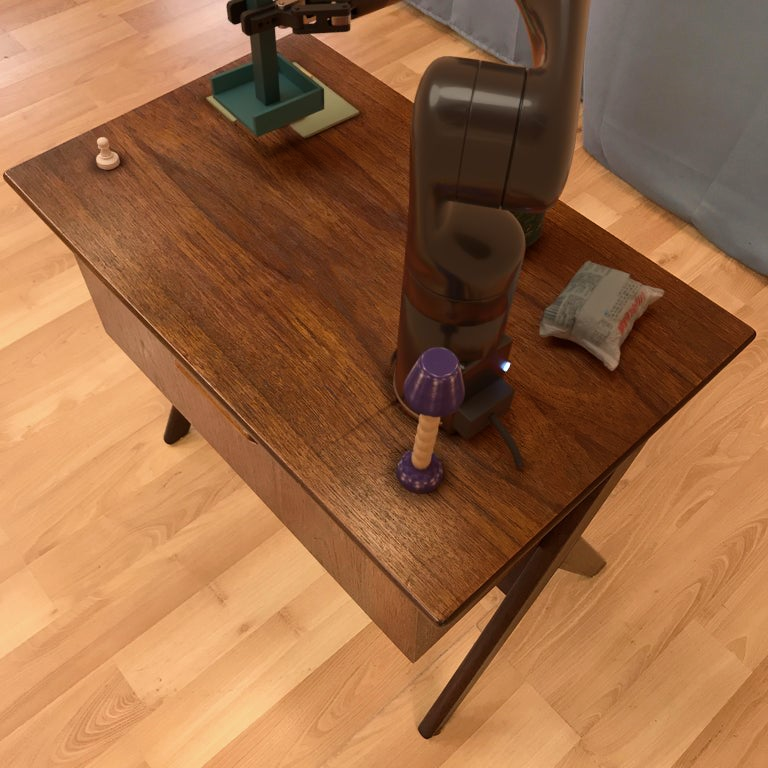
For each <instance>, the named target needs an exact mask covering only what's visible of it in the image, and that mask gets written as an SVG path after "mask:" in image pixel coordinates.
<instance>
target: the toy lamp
mask: <svg viewBox="0 0 768 768" xmlns="http://www.w3.org/2000/svg"><path fill="white" fill-rule="evenodd" d="M403 390H404V396H405V399H406V401H407V403H408V404H409V406H411V408H412V409H413V410H415V411H416V412H418V413H419V414H420V416H419V421H418V424H417V427H416V434H415V437H414V443H413V449H410V450H408V451H406V452H405V453H404V454H402V455H401V457H400V458H399V459H398V461H397V464H396V465H395V466H396V467H395V476H396V479H397V480H398V482H399V484H400V485H401V486H402V487H403V488H404V489H406V490H408V491H409V492H412V493H415V494H416V493H417V494H426V493H430V492H432V491H434V490H436V489H437V488H438V487H439V486H440V485H441V483H442V482H443V479H444V466H443V464H442V461H441V459H440V458H439V456H438V455H437V454H436V453H434V449H435V448H434V447H435V445H436V442H437V436H438V433H439V427H438V426H439V423H440V417H443V416H447V415H450V414H451V413H453V412H455V411H456V410H457V409H458V408H459V407H460V406H461V404H462V402H463V400H464V396H465V387H464V381H463V376H462V371H461V366H460V363H459V360H458V358H457V356H456V355H455V354H454V353H453V352H452V351H450V350H448V349H445V348H441V347H434V348H430V349H428V350H426V351H425V352H424V353H422V355H421V356H420V357H419V358H418V360H417V361H416V363H415V364H414V366H413V367H412V369H411V371H410V372H409V374H408V376H407V377H406V380H405V382H404V388H403Z"/></svg>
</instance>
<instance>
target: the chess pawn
mask: <svg viewBox="0 0 768 768" xmlns="http://www.w3.org/2000/svg"><path fill="white" fill-rule="evenodd" d="M96 144H97V148H98V149H99V150H100V152H99V154H97V155H96V157H95V161H96V165H97V167H98V168H99V169H102V170H105V171H111V170H113V169H115V168H117V167H118V166H119V165H120V163H121V160H120V157H119V155H118V153H116V152H115V151H112V150H111V149H110V148H109V147H110V143H109V139H108V138H107V137H104V136H101V137H99V138H97V140H96Z"/></svg>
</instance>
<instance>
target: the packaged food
mask: <svg viewBox="0 0 768 768" xmlns="http://www.w3.org/2000/svg"><path fill="white" fill-rule="evenodd" d="M631 276H632V274H630V273H627V272H625V271H622V270H619V269H615V268H612V267H608V266H605V265H602V264H598V263H595V262H592V261H591V260H587V261H585V262H584V263H583V264H582V265H581V267H580V268H579V269H578V270H577V272H576V273H575V274H574V275H573V276H572V278H571V279H570V281H569V282H568V283H567V285H566V286H565V287H564V289H563V290H562V291H561V292H560V294H559V295H558V296H557V298H556V299H555V301H553V302H552V303H551V304H549V305H548V306H547V307H546V308H544V310H543V312H542V315H541V316H540V322H539V333H538V334H539V337H541V338H547V337H554V338H559V339H564V340H568V341H572V343H575V344H577V345H578V346H580V347H581V348H584V349H585V350H586V351H588V352H589V353H590V354H592V355H593V356H595V357H596V358H597V359H598V360H600V361H601V362H602V363H603V365H604V366H605V367H606V368H607V369H608V370H609V371H611V372H613V371H615V370H616V369H617V368H618V366H619V364H620V358H621V346H622V344H623V343H624V341H625V340H626V339H627V337H628V336H629V334H630V332H631V331H632V328H633V326H634V323H635V321H637V320H638V319H639V318H641V316H642V315H643V314H644V313H645V311H646V310H647V309H648V307H650V306H651V305H652V304H653V303H655V302H656V301H657V300H659V299H660V298H662V297H663V296H664V294H665V290H664V289H661V288H657V287H653V286H650V285H646V284H645V285H644V284H643V283H642V282H640V281H636V280H634V279H632V278H631Z"/></svg>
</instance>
